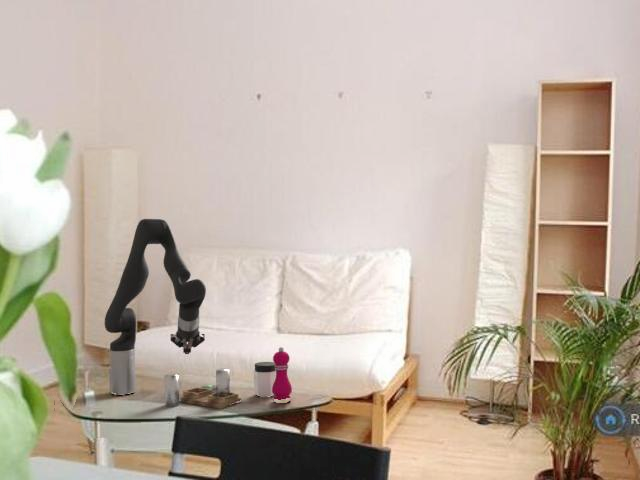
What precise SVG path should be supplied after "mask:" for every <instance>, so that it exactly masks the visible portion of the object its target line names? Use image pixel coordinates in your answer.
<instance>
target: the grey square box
mask: <svg viewBox="0 0 640 480" xmlns="http://www.w3.org/2000/svg"><path fill="white" fill-rule="evenodd" d="M211 385H212V384H211ZM204 386H205V385H202V386H199V387H200V388H204ZM206 389H208V388H206ZM209 389H212V390H213V394H215V393H216V385H212V388H209Z"/></svg>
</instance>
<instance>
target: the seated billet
mask: <svg viewBox="0 0 640 480" xmlns="http://www.w3.org/2000/svg"><path fill="white" fill-rule="evenodd" d="M215 386H216V396H218V397H227V396H230V392H231V371H230V368H226V367H225V368H218V369H217V368H216V369H215Z"/></svg>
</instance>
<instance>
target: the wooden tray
mask: <svg viewBox="0 0 640 480" xmlns="http://www.w3.org/2000/svg"><path fill="white" fill-rule="evenodd" d="M200 387H201V386H198V387H193V388H190V389H187V390H183V391H182V396H181V397H180V402H181V403H187V404H193V405H197V406H203V407H209V408H214V409H220V410H221V409H223V408H226V406H227V407H229V406H228V405H230V404H232V403H235V402H237V401H240V400H241V401H242V398H241V397H239V393H236V392H231V391H230V396H227V397H218V396H216V393H215V394H213V390H212V389H206V388H200ZM230 406H231V405H230Z"/></svg>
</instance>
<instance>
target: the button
mask: <svg viewBox="0 0 640 480" xmlns="http://www.w3.org/2000/svg"><path fill="white" fill-rule="evenodd" d="M203 386H204V388H208V389H209V388H212V384H205V385H203Z"/></svg>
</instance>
